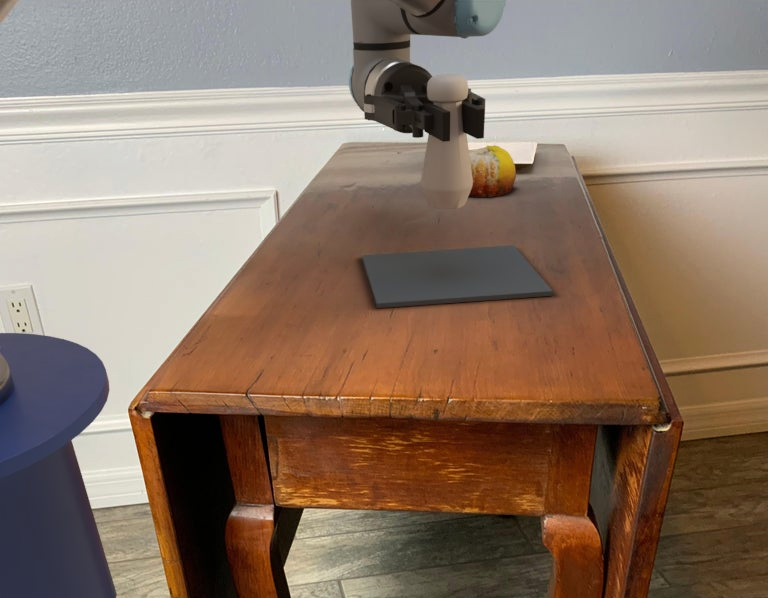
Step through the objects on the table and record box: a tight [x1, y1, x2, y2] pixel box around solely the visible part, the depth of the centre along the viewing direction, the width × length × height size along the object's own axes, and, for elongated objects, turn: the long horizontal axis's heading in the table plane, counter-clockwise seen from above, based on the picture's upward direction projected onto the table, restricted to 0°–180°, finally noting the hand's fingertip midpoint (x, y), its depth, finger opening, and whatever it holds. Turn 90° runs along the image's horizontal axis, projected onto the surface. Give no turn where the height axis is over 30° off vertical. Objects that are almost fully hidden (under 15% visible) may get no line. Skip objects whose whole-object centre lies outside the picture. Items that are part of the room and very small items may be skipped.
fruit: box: [469, 146, 517, 198], centre depth 130 cm, size 11×10×8 cm
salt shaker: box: [420, 73, 473, 211], centre depth 86 cm, size 6×6×13 cm
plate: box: [468, 141, 538, 171], centre depth 148 cm, size 19×19×2 cm
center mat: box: [361, 244, 554, 309], centre depth 96 cm, size 20×18×1 cm
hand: (463, 125), depth 80 cm, fingers closed on salt shaker, 3 cm apart
